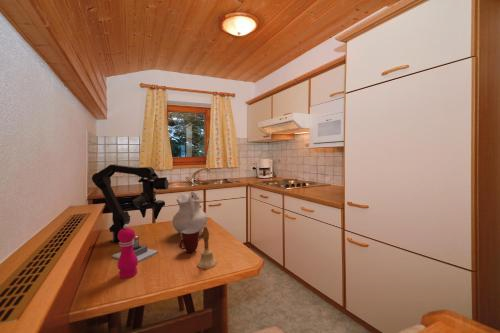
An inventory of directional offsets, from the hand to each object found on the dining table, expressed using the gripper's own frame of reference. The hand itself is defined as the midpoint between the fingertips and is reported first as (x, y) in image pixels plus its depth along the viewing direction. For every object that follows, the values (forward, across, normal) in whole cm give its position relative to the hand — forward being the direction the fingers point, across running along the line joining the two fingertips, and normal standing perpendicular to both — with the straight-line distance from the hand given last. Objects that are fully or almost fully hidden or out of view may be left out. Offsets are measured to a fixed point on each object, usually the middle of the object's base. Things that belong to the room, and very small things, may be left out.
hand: (149, 218), depth 129 cm
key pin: (+11, +10, -17) cm, 22 cm away
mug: (+12, +31, -4) cm, 33 cm away
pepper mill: (+12, +23, -30) cm, 40 cm away
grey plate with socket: (+12, +10, -17) cm, 23 cm away
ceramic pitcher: (+12, +16, +15) cm, 25 cm away
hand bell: (+12, +46, -10) cm, 49 cm away
